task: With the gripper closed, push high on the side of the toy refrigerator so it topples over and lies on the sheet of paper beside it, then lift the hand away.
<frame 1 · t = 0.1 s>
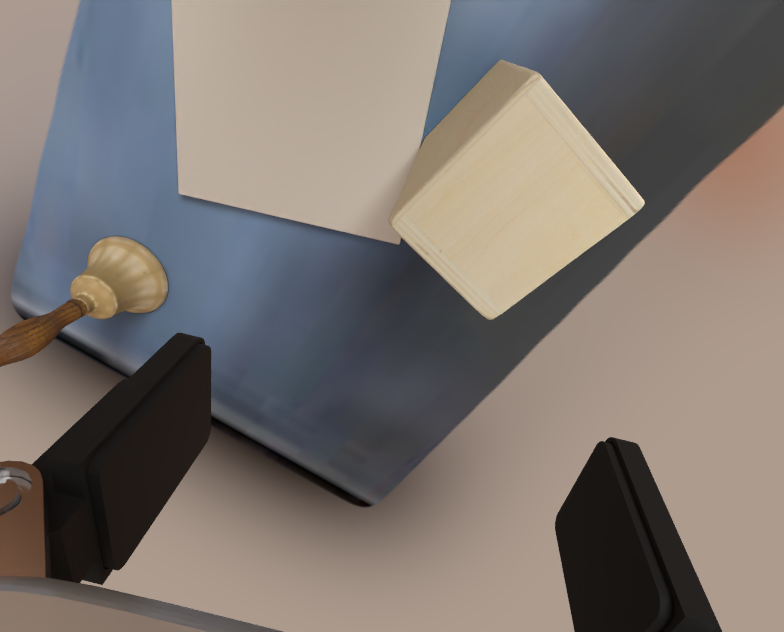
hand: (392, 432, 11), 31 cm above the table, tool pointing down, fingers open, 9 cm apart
hand bell: (130, 274, 48), on the table
sheet of paper: (301, 95, 37), on the table
toy refrigerator: (491, 137, 37), on the table
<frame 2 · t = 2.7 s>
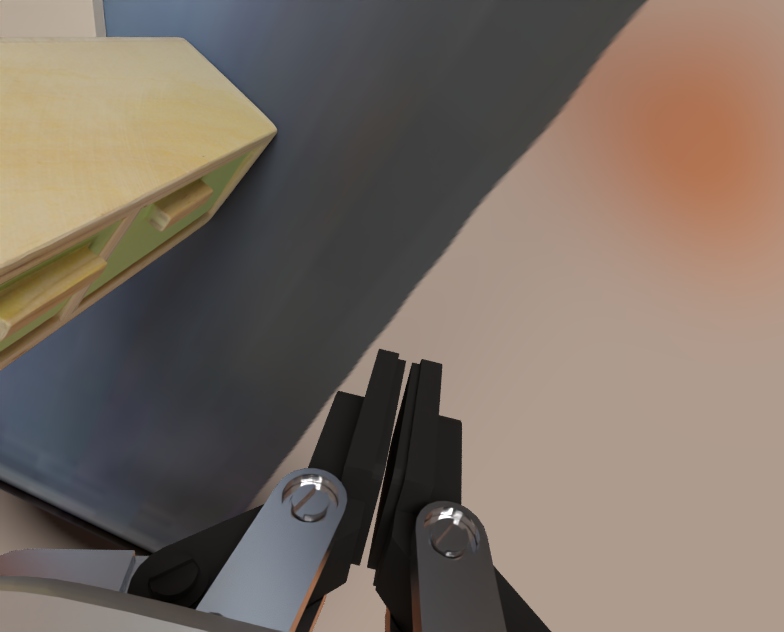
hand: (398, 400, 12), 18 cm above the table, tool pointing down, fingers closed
toy refrigerator: (204, 143, 28), on the table
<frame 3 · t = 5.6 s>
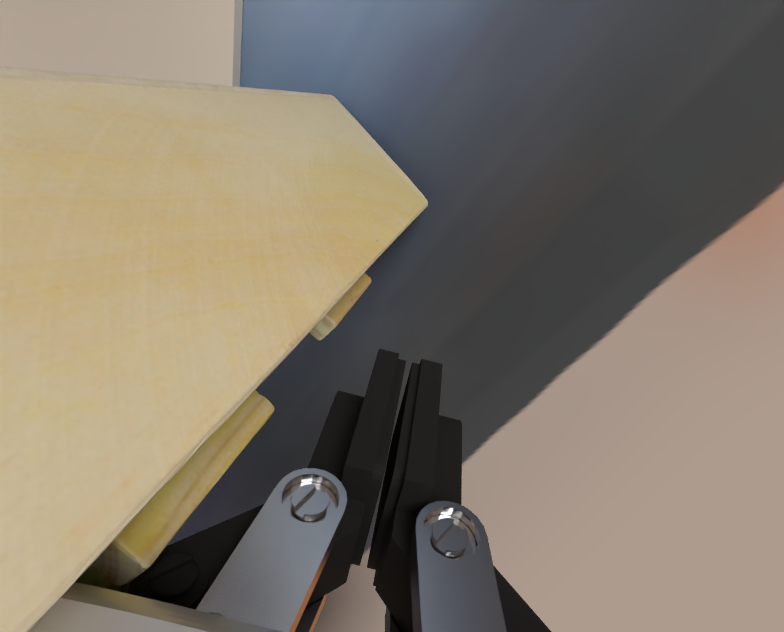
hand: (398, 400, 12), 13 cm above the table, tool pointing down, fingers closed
sheet of paper: (46, 142, 24), on the table
toy refrigerator: (335, 213, 24), on the table
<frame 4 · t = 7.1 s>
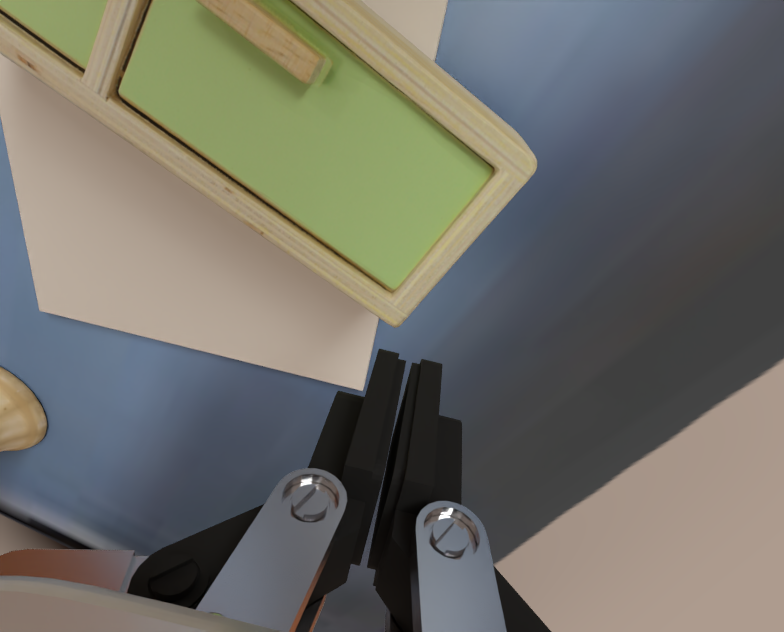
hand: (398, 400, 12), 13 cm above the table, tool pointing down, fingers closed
sheet of paper: (206, 181, 24), on the table
toy refrigerator: (465, 237, 19), point 4 cm above the table, touching sheet of paper
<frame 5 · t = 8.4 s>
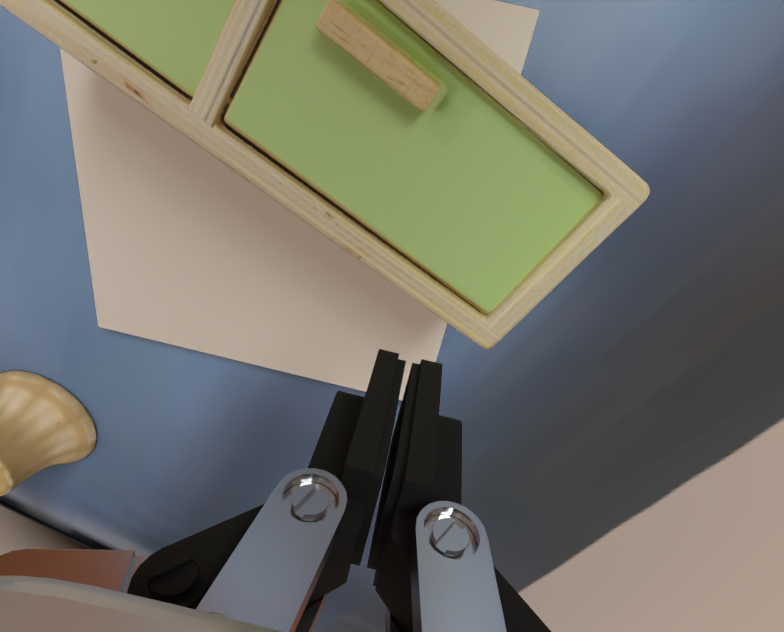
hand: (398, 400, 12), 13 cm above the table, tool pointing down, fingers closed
hand bell: (44, 415, 34), on the table
sheet of paper: (275, 199, 24), on the table
toy refrigerator: (553, 258, 19), point 4 cm above the table, touching sheet of paper
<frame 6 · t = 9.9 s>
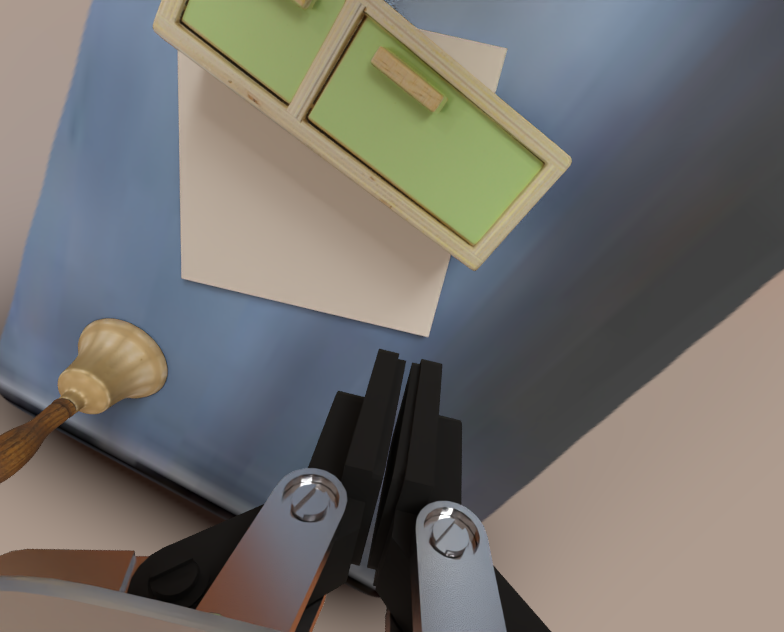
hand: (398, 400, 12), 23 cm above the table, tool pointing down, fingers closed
hand bell: (125, 357, 43), on the table
sheet of paper: (322, 178, 33), on the table
toy refrigerator: (518, 211, 28), point 4 cm above the table, touching sheet of paper
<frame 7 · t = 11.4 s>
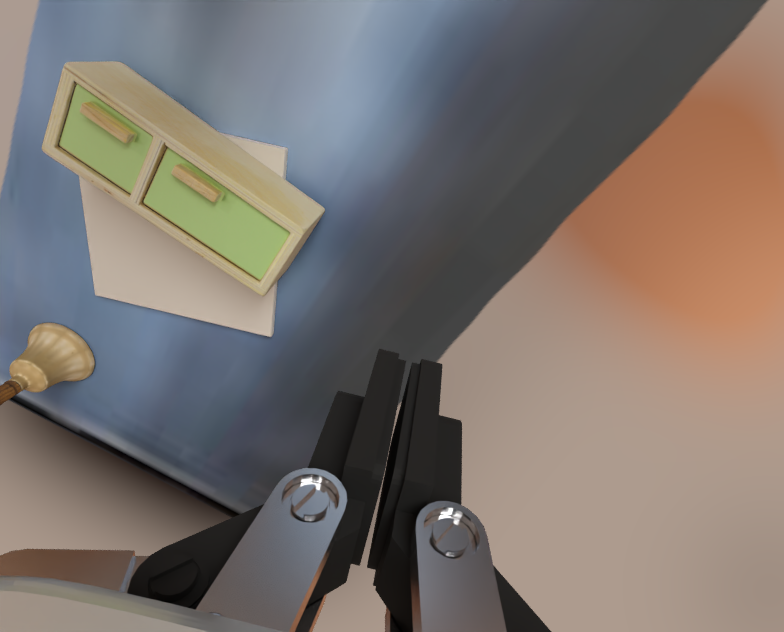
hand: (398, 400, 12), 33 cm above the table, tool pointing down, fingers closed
hand bell: (64, 350, 58), on the table
sheet of paper: (183, 227, 48), on the table
toy refrigerator: (295, 256, 42), point 4 cm above the table, touching sheet of paper
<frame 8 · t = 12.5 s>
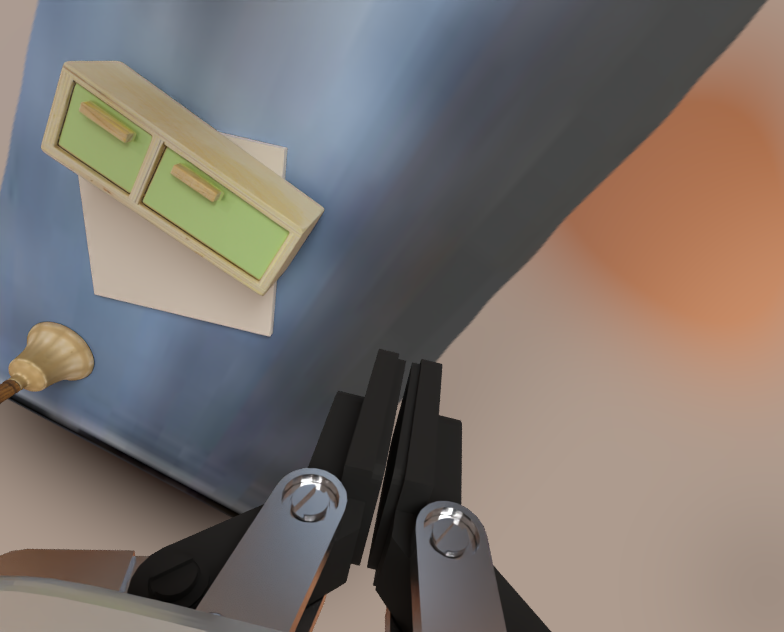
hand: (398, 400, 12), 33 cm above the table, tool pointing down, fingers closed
hand bell: (63, 350, 58), on the table
sheet of paper: (183, 227, 48), on the table
toy refrigerator: (295, 256, 42), point 4 cm above the table, touching sheet of paper
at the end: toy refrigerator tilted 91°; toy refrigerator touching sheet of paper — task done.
